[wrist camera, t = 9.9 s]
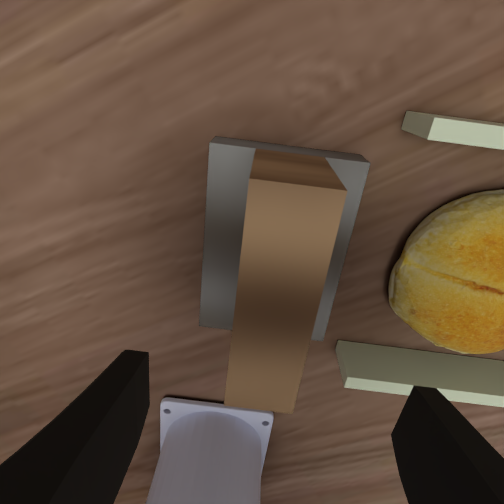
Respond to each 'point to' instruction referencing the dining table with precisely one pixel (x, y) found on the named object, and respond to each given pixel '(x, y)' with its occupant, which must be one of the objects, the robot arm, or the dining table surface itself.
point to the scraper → (274, 258)
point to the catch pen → (424, 362)
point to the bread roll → (455, 275)
